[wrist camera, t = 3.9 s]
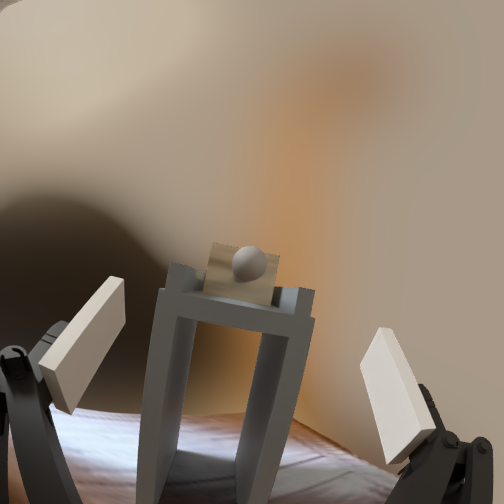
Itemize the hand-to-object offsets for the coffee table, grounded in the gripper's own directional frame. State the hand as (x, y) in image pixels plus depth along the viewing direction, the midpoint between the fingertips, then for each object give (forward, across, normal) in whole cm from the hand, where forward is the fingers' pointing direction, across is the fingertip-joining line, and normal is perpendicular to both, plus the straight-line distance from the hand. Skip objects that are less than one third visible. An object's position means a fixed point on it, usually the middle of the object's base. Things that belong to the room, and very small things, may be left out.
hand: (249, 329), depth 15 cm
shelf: (+5, -1, -35) cm, 35 cm away
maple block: (+14, -1, -8) cm, 16 cm away
